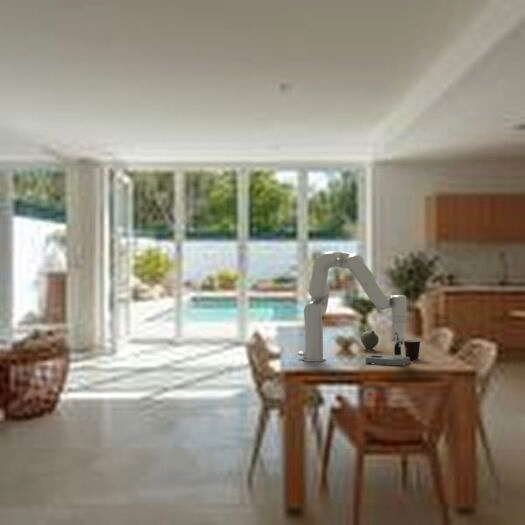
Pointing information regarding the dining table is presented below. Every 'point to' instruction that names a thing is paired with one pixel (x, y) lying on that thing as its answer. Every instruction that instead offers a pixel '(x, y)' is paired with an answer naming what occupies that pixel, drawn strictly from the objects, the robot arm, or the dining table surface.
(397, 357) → the plug
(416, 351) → the coffee mug
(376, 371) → the dining table surface
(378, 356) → the panel
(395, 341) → the robot arm
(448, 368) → the dining table surface
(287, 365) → the dining table surface
